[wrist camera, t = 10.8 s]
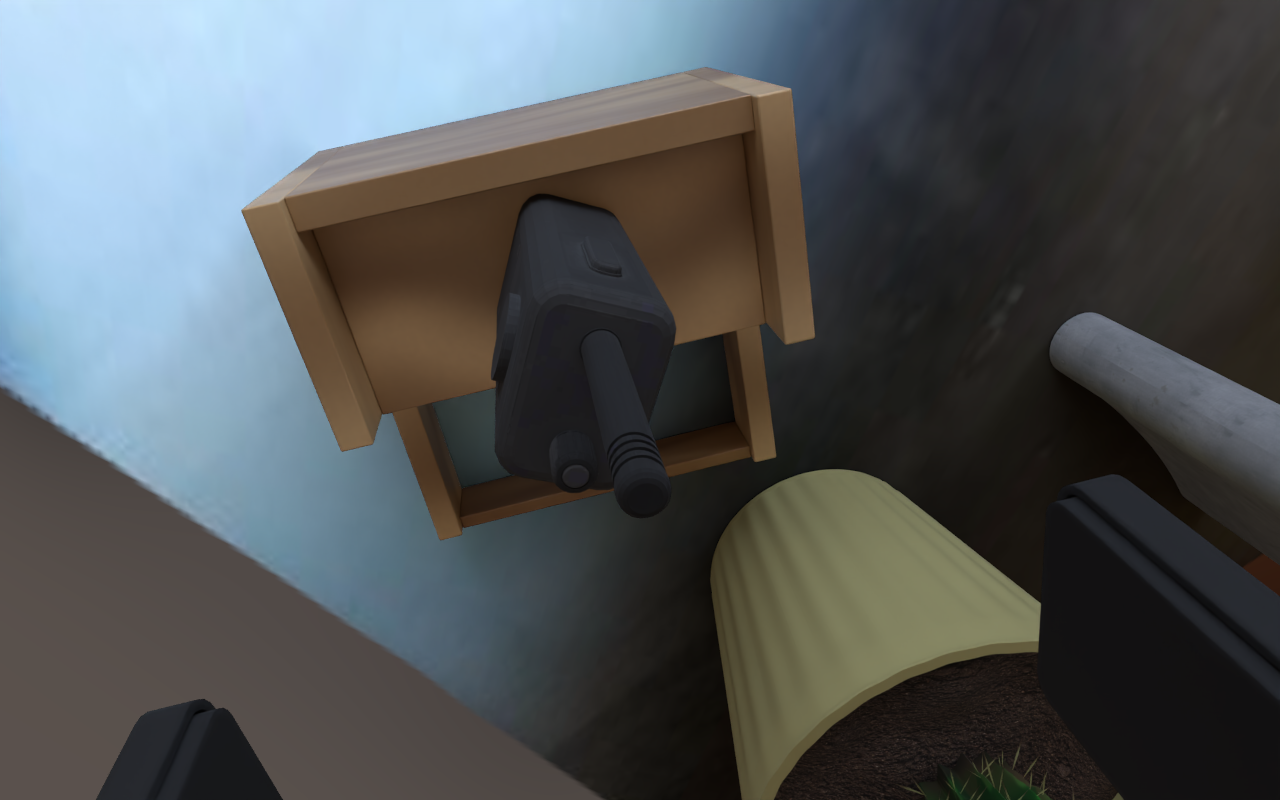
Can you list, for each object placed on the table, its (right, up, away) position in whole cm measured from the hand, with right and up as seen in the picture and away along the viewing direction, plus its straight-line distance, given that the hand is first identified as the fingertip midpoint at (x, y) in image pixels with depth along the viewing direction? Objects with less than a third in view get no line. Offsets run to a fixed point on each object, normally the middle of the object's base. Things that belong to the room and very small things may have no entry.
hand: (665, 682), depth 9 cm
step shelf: (-4, +7, +25) cm, 26 cm away
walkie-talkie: (-3, +7, +16) cm, 18 cm away
